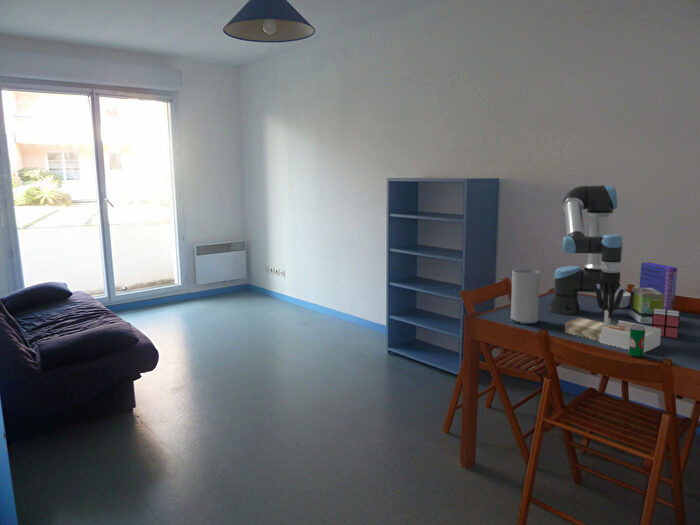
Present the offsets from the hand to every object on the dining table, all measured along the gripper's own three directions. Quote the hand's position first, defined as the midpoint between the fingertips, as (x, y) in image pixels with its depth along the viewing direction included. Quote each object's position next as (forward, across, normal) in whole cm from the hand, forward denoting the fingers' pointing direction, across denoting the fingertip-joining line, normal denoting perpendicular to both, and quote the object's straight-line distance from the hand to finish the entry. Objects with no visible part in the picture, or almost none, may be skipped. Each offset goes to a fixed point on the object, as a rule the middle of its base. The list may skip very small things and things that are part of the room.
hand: (607, 324), depth 217 cm
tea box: (+7, -2, +42) cm, 43 cm away
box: (+6, +10, 0) cm, 11 cm away
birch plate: (+6, -8, 0) cm, 10 cm away
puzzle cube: (+7, +13, +25) cm, 29 cm away
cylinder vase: (+7, -39, -3) cm, 39 cm away
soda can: (+7, +17, -12) cm, 22 cm away
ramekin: (+7, -24, +59) cm, 64 cm away
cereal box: (+6, -6, +63) cm, 64 cm away
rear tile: (+3, +3, 0) cm, 4 cm away
